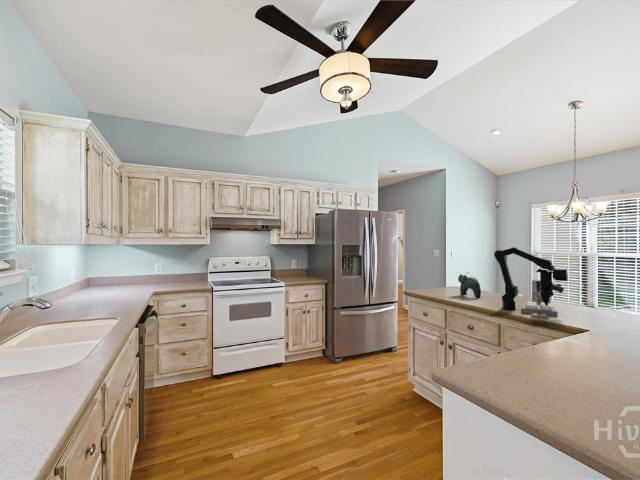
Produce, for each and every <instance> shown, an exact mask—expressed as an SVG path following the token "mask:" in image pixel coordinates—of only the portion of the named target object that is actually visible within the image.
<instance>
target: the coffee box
mask: <svg viewBox="0 0 640 480" xmlns="http://www.w3.org/2000/svg"><path fill="white" fill-rule="evenodd" d="M531 302H536V305H541V303H544V301H543V299H542V297H541V295H540V280H537V279H536V280H533V279H531ZM548 303H551V297H550V298H549V302H548Z"/></svg>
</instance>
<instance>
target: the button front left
mask: <svg viewBox="0 0 640 480" xmlns="http://www.w3.org/2000/svg"><path fill="white" fill-rule="evenodd" d="M526 304H527V303H526ZM537 305H538V304H527V308H531V309H537Z"/></svg>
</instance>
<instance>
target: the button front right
mask: <svg viewBox="0 0 640 480" xmlns="http://www.w3.org/2000/svg"><path fill="white" fill-rule="evenodd" d="M540 305H541V304H540ZM552 306H553V305H552V304H551V305H541V309H542V310H552Z"/></svg>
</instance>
